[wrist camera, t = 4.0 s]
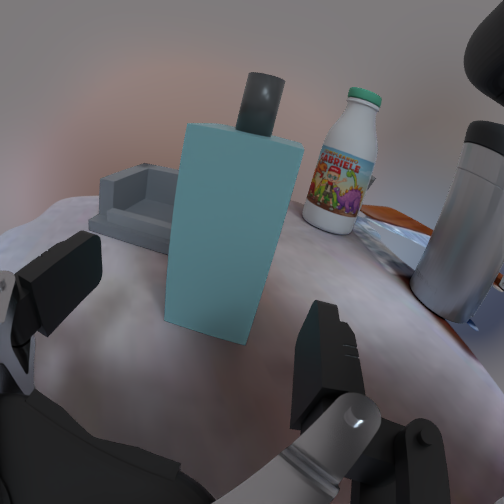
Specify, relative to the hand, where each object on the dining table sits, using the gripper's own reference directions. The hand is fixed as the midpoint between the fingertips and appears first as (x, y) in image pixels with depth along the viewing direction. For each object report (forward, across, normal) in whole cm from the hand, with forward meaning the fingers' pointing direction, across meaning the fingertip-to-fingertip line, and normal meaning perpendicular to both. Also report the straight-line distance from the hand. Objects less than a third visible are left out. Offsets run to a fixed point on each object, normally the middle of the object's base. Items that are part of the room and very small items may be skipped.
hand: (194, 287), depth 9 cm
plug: (+6, 0, +6) cm, 9 cm away
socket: (+16, +9, +6) cm, 19 cm away
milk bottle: (+30, -10, +6) cm, 33 cm away
